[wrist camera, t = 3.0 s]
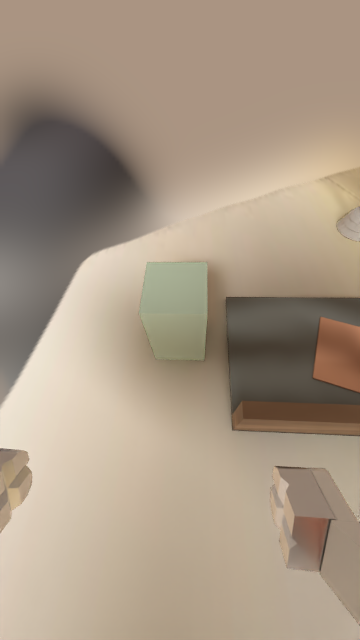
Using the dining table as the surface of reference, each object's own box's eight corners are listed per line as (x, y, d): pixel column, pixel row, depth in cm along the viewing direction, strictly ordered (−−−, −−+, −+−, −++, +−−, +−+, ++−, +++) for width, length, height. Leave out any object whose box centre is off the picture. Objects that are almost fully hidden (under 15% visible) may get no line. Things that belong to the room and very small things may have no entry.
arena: (476, 441, 21) (568, 432, 16) (232, 430, 22) (243, 418, 17) (408, 301, 28) (456, 264, 23) (225, 300, 29) (232, 264, 24)
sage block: (204, 360, 26) (207, 314, 18) (155, 359, 26) (139, 313, 19) (204, 318, 28) (207, 262, 21) (160, 317, 29) (146, 262, 21)
